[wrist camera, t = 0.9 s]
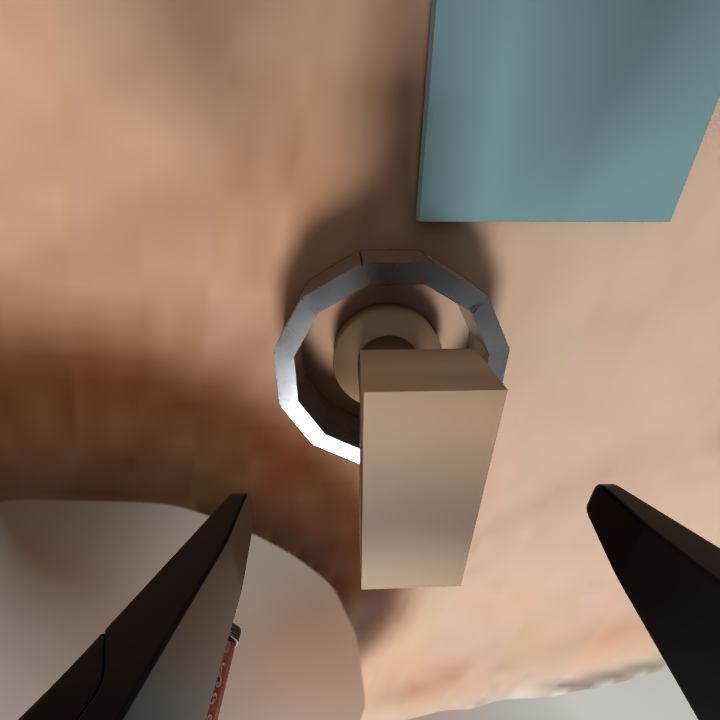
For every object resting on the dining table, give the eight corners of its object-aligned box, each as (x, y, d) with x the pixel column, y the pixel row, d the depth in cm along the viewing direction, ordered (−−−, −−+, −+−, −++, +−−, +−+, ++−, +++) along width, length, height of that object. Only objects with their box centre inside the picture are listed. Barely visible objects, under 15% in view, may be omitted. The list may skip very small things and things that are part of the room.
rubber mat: (795, -161, 10) (831, -189, 9) (653, 220, 14) (670, 222, 14) (444, -177, 9) (453, -206, 9) (415, 219, 14) (419, 221, 13)
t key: (331, 280, 15) (315, 393, 7) (444, 280, 15) (554, 389, 7) (336, 411, 18) (328, 590, 10) (429, 409, 18) (493, 584, 10)
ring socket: (501, 249, 15) (529, 261, 12) (468, 428, 19) (484, 461, 17) (275, 250, 14) (262, 262, 12) (294, 432, 19) (287, 465, 16)
